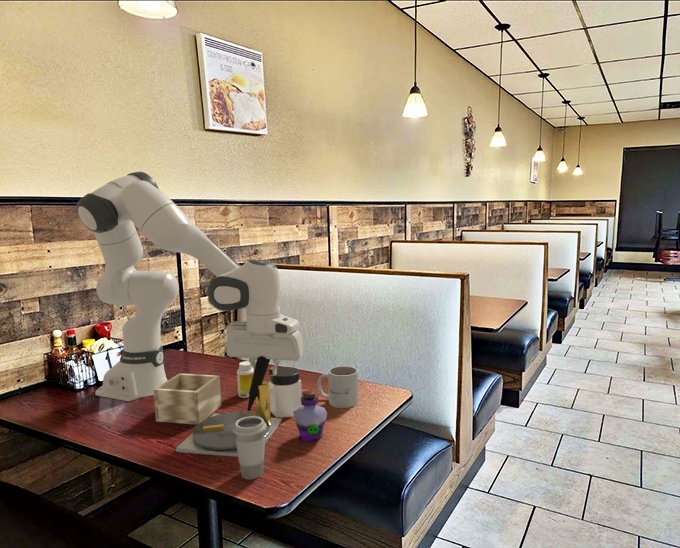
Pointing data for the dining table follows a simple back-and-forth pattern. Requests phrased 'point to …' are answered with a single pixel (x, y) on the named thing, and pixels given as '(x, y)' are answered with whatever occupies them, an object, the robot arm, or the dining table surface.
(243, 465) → the cup
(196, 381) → the open wooden box
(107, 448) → the dining table surface
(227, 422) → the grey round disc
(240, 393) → the supplement bottle
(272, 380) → the jar
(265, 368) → the microphone
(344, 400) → the mug
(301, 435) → the potion bottle
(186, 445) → the base
